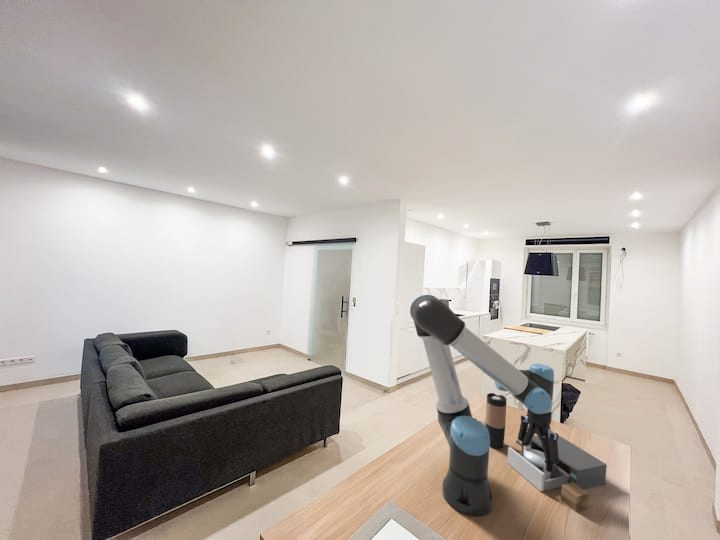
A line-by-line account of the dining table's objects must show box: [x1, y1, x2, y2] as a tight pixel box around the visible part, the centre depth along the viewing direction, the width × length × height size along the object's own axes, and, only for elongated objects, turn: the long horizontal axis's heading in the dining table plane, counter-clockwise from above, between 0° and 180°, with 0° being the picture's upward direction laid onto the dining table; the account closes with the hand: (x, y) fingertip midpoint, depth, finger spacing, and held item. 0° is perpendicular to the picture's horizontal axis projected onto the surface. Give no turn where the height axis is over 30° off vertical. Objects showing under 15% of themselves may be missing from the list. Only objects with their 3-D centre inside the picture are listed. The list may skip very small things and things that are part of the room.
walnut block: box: [560, 482, 590, 513], centre depth 95 cm, size 5×5×5 cm
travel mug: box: [484, 392, 507, 450], centre depth 126 cm, size 8×8×20 cm
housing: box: [528, 434, 607, 490], centre depth 113 cm, size 15×20×7 cm
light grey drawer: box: [506, 446, 570, 492], centre depth 109 cm, size 13×15×6 cm
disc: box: [524, 449, 546, 468], centre depth 109 cm, size 8×8×2 cm
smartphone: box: [515, 439, 562, 464], centre depth 122 cm, size 8×15×1 cm, turn 17°
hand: (535, 470), depth 109 cm, fingers closed on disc, 8 cm apart
